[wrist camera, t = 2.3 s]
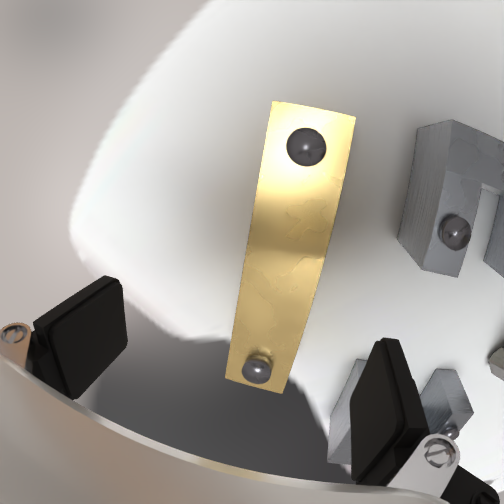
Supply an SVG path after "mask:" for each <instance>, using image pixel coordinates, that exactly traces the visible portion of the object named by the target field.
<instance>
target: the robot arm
mask: <svg viewBox="0 0 504 504" xmlns="http://www.w3.org/2000/svg"><path fill="white" fill-rule="evenodd" d="M33 325H34V329H35V330H34V331H33V332H32V331H31V329H30V327H29V326H28V325H27V324H24V323H12V324H9V325H7V326H5V327H3V328H2V329H1V330H0V504H500V500H499V496H498V494H497V492H496V490H494V489H493V488H492V487H491V486H489V485H488V484H486V483H485V482H483V481H482V480H480V479H479V478H477V477H475V476H474V475H472V474H471V473H469V472H468V471H467V470H465V469H464V468H462V467H461V466H459V465H458V463H459V460H460V451H459V449H458V446H457V445H456V443H455V442H454V441H453V440H452V439H450V438H449V437H447V436H445V435H441V434H430V431H429V427H428V423H427V420H426V416H425V413H424V409H423V406H422V403H421V399H420V396H419V393H418V390H417V387H416V384H415V381H414V379H412V376H411V373H410V370H409V367H408V364H407V361H406V358H405V356H404V353H403V350H402V347H401V345H400V342H399V340H397V339H391V338H384V337H383V338H382V339H381V340H380V341H376V342H375V344H374V346H373V349H372V351H371V353H370V356H369V358H368V360H367V363H366V365H365V367H364V369H363V372H362V374H361V376H360V378H359V380H358V382H357V385H356V387H355V389H354V391H353V393H352V395H351V398H350V403H349V407H350V428H351V478H352V480H353V481H356V485H354V484H339V483H327V482H317V481H308V480H302V479H295V478H288V477H282V476H276V475H270V474H265V473H260V472H255V471H250V470H246V469H242V468H238V467H234V466H230V465H226V464H222V463H219V462H215V461H212V460H208V459H205V458H202V457H198V456H195V455H192V454H189V453H186V452H183V451H180V450H177V449H174V448H172V447H169V446H167V445H164V444H161V443H159V442H156V441H154V440H151V439H149V438H146V437H144V436H142V435H139V434H137V433H135V432H133V431H130V430H128V429H126V428H124V427H122V426H120V425H118V424H116V423H114V422H111V421H109V420H107V419H105V418H104V417H101V416H100V415H98V414H96V413H94V412H92V411H90V410H88V409H86V408H85V407H83V406H81V405H79V404H78V403H76V402H74V401H73V400H74V399H78V398H79V397H80V396H81V395H82V394H83V393H84V392H85V391H86V389H87V388H88V387H89V386H90V385H91V384H92V383H93V382H94V381H95V380H96V379H97V378H98V377H99V376H100V375H101V374H102V372H103V371H104V370H105V369H106V368H107V367H108V366H109V365H110V364H111V363H112V362H113V361H114V360H115V359H116V358H117V356H118V355H119V354H120V353H121V352H122V351H123V350H124V349H125V348H126V346H127V342H128V339H127V331H126V322H125V312H124V300H123V288H122V285H121V284H120V282H119V280H118V279H116V278H112V277H109V276H103V277H101V278H99V279H98V280H96V281H94V282H93V283H92V284H90V285H88V286H87V287H85V288H83V289H82V290H80V291H79V292H77V293H76V294H74V295H73V296H71V297H69V298H68V299H66V300H65V301H63V302H62V303H60V304H59V305H57V306H56V307H54V308H53V309H51V310H50V311H48V312H47V313H46V314H44V315H42V316H41V317H39V318H38V319H37V320H35V321H34V322H33Z"/></svg>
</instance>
